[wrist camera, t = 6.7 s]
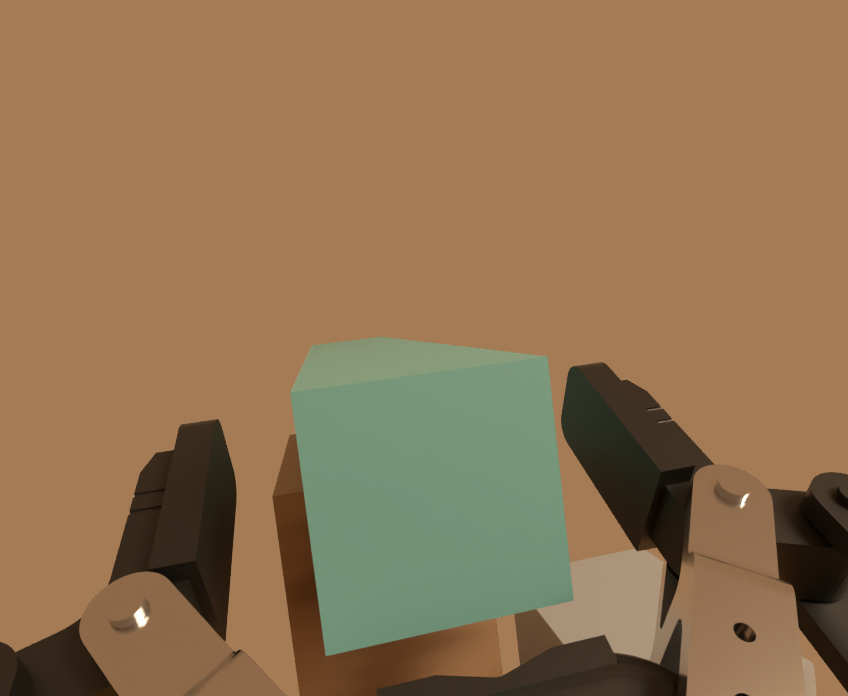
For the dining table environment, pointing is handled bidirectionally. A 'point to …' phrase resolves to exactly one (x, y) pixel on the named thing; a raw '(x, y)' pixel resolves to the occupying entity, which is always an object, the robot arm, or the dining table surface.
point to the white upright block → (607, 609)
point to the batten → (428, 487)
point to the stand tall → (375, 665)
